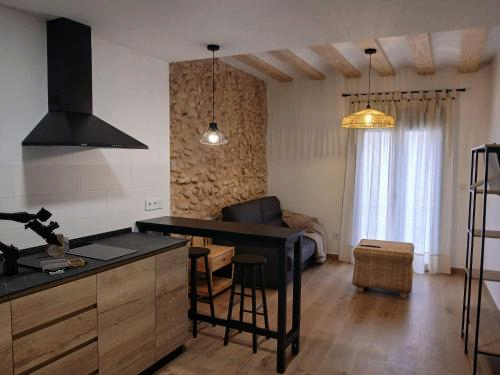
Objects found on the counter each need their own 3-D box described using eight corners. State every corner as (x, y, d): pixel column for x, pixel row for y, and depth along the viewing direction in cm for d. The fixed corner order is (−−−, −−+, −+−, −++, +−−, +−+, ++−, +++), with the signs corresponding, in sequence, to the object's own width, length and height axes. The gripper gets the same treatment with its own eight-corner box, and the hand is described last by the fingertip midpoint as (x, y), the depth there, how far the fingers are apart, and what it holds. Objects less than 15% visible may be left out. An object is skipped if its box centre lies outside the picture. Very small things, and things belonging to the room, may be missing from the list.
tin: (68, 252, 256) (68, 239, 255) (70, 253, 254) (70, 240, 253) (44, 256, 244) (44, 243, 243) (46, 257, 242) (46, 244, 241)
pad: (50, 275, 209) (50, 274, 209) (48, 271, 215) (48, 270, 215) (64, 272, 213) (64, 271, 213) (62, 269, 219) (62, 268, 219)
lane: (42, 271, 215) (42, 266, 215) (40, 266, 223) (40, 261, 223) (69, 267, 223) (68, 262, 223) (65, 263, 231) (65, 258, 231)
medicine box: (63, 249, 263) (63, 236, 262) (69, 249, 262) (68, 237, 261) (54, 252, 255) (54, 239, 255) (60, 252, 254) (59, 239, 253)
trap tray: (70, 267, 223) (69, 264, 223) (66, 263, 231) (66, 259, 231) (84, 265, 228) (84, 262, 228) (80, 261, 236) (80, 258, 236)
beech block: (54, 258, 220) (53, 235, 219) (53, 256, 224) (52, 234, 223) (64, 256, 223) (63, 234, 222) (62, 255, 227) (62, 233, 226)
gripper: (52, 220, 212) (74, 237, 219) (47, 215, 227) (68, 231, 234) (36, 235, 208) (59, 252, 215) (32, 229, 223) (54, 245, 230)
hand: (61, 245), depth 224 cm, fingers closed on beech block, 5 cm apart
